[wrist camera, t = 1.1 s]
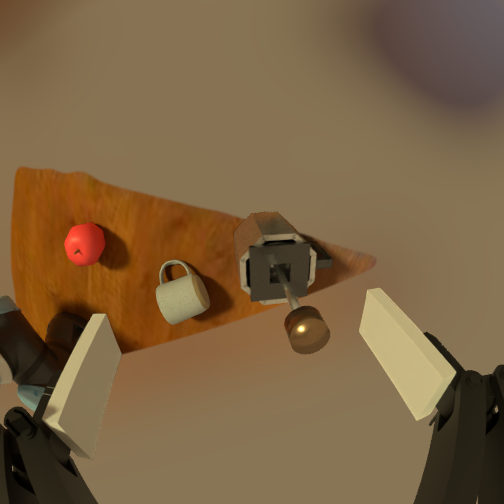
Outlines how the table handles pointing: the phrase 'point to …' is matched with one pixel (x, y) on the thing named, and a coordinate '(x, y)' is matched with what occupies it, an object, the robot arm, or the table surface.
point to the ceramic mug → (181, 296)
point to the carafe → (275, 257)
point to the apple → (85, 244)
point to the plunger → (300, 315)
